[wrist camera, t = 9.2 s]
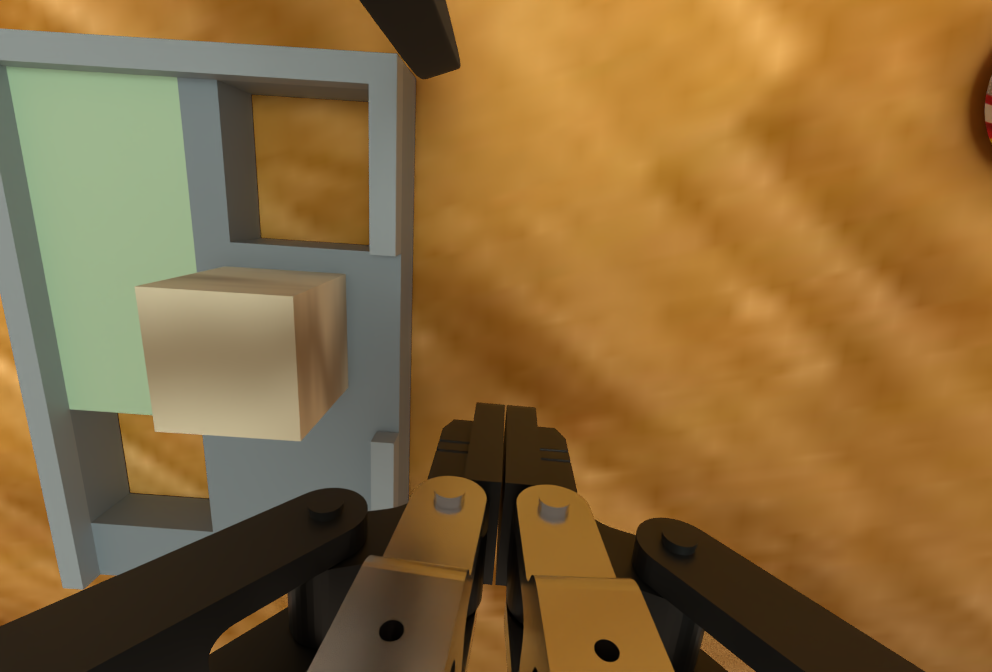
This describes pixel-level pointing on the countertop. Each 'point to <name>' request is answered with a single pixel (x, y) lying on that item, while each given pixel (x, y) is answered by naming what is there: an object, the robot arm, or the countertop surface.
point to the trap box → (184, 272)
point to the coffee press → (418, 33)
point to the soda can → (989, 110)
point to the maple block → (244, 351)
